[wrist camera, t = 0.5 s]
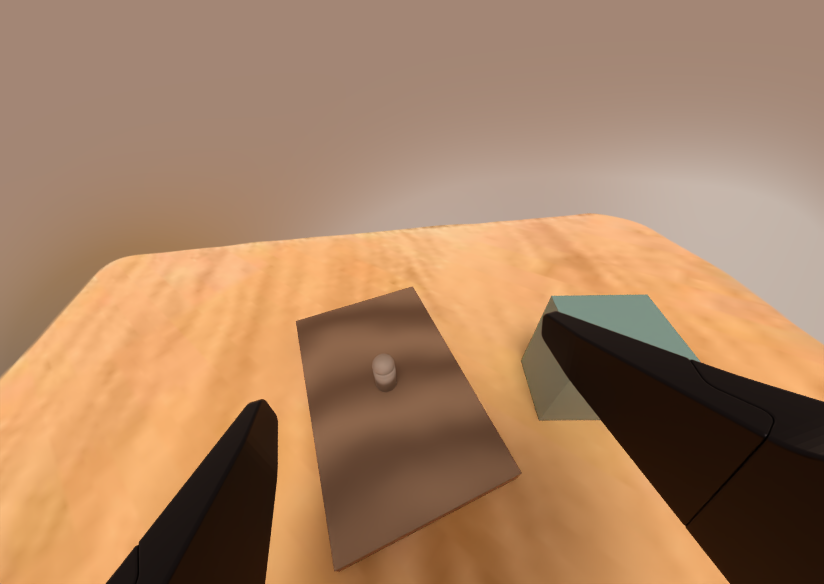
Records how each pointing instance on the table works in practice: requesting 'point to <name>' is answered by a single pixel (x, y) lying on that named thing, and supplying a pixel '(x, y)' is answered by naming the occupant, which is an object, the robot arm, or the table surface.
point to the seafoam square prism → (607, 311)
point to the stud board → (393, 424)
